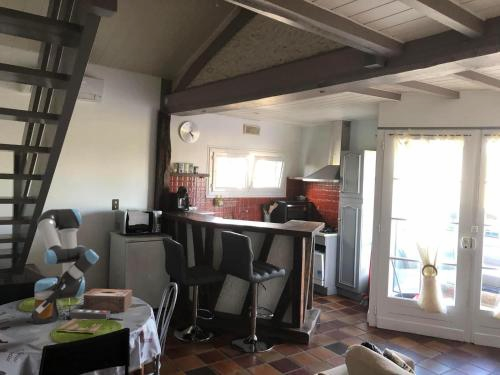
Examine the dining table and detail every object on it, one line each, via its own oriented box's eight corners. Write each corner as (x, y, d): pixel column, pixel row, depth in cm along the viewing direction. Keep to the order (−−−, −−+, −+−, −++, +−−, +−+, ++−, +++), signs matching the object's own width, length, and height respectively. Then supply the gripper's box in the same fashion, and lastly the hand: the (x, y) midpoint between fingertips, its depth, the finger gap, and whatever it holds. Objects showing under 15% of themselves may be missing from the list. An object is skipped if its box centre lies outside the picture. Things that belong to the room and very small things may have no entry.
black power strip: (69, 318, 234) (69, 311, 234) (74, 315, 240) (75, 308, 240) (121, 321, 232) (121, 314, 232) (125, 318, 238) (125, 310, 238)
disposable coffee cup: (29, 317, 202) (29, 294, 201) (45, 311, 211) (45, 289, 210) (44, 320, 199) (44, 296, 198) (59, 314, 207) (59, 291, 207)
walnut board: (58, 331, 215) (58, 328, 215) (73, 321, 231) (73, 318, 231) (94, 333, 214) (94, 331, 214) (107, 323, 230) (107, 320, 230)
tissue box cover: (83, 311, 249) (83, 295, 249) (92, 303, 264) (93, 288, 264) (124, 312, 249) (124, 296, 249) (131, 305, 263) (131, 290, 263)
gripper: (79, 284, 201) (43, 320, 195) (76, 274, 221) (43, 306, 214) (67, 275, 199) (30, 310, 192) (66, 265, 218) (32, 297, 212)
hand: (37, 308), depth 203 cm, fingers closed on disposable coffee cup, 9 cm apart
